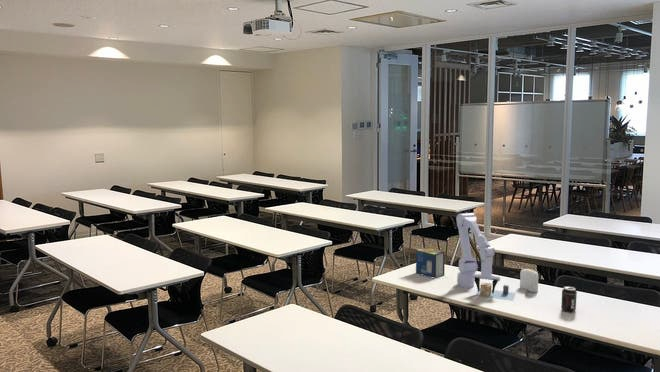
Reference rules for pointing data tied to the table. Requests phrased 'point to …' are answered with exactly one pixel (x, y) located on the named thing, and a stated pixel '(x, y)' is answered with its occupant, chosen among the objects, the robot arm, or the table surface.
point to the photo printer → (529, 280)
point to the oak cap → (485, 289)
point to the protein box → (430, 262)
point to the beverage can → (569, 299)
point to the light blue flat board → (499, 295)
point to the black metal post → (505, 289)
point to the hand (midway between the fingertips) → (485, 292)
